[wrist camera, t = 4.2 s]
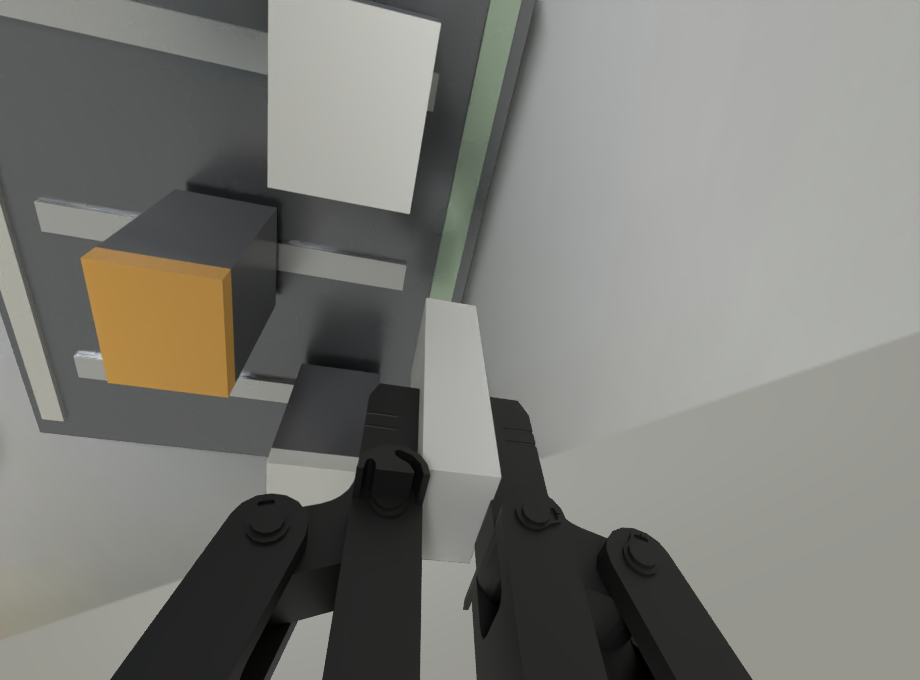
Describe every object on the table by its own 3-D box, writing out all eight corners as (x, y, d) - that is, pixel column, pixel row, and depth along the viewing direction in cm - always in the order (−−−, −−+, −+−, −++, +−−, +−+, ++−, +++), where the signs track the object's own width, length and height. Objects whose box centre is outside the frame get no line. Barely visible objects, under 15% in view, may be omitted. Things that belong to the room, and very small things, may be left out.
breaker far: (298, 430, 21) (265, 535, 17) (301, 363, 19) (266, 462, 15) (369, 439, 22) (355, 543, 17) (380, 374, 20) (367, 473, 15)
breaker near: (313, 135, 15) (267, 187, 10) (321, -13, 13) (268, -20, 9) (415, 156, 15) (409, 214, 11) (437, 17, 13) (441, 24, 9)
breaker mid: (185, 291, 17) (107, 382, 13) (175, 188, 15) (80, 258, 11) (275, 305, 18) (228, 397, 14) (277, 207, 16) (221, 280, 12)
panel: (68, 400, 23) (37, 435, 21) (-108, -236, 12) (-206, -280, 10) (419, 441, 25) (418, 476, 23) (536, -52, 14) (552, -60, 13)
